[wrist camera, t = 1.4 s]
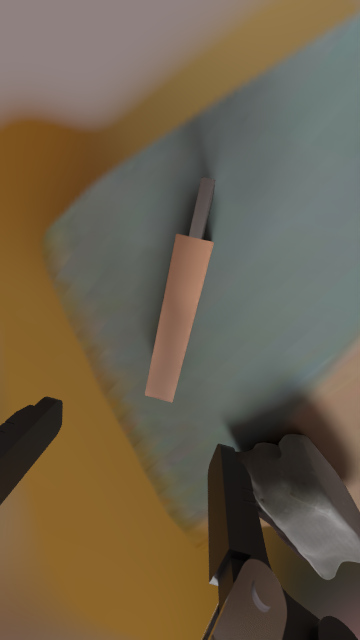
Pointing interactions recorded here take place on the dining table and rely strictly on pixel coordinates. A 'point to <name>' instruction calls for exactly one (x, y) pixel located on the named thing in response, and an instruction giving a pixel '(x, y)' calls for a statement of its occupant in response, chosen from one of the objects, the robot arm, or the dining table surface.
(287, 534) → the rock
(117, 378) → the dining table surface
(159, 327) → the bed rail
